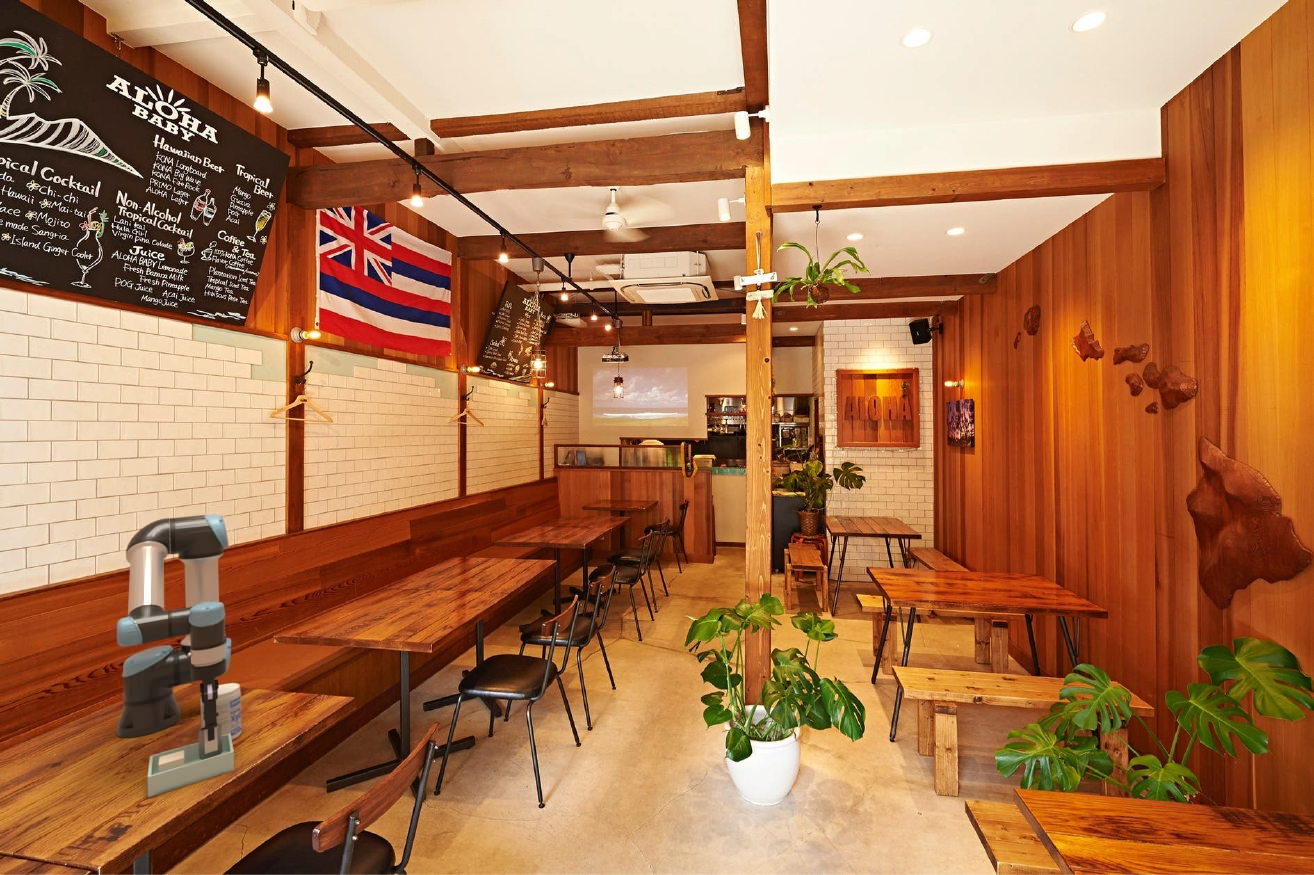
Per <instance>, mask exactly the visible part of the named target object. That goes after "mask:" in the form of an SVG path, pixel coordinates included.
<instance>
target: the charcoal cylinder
mask: <svg viewBox="0 0 1314 875" xmlns="http://www.w3.org/2000/svg"><path fill="white" fill-rule="evenodd" d="M217 741H218V750H216V751H213V752H210V753H206V754H205V740H204V730H203V731H201V728H200V729H199V730H198V742H199V759H201V760H204V759H207V758H210V757H214V756H217V755H220V754H221V753H222V752H223V750H222V725H221V724H217Z"/></svg>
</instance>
